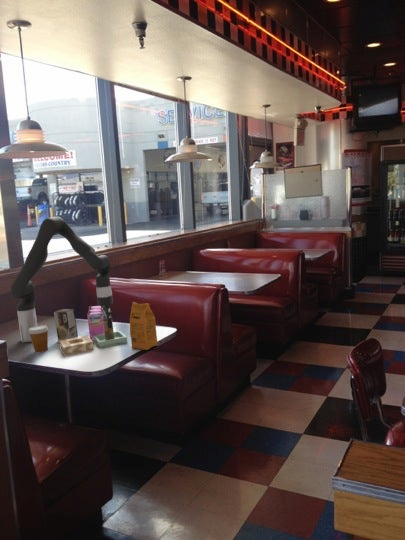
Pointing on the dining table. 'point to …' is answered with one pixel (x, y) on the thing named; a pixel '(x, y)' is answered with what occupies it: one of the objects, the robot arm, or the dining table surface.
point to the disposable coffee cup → (39, 337)
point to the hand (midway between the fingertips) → (108, 326)
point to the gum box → (95, 321)
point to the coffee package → (142, 327)
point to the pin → (108, 330)
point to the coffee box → (65, 324)
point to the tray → (118, 339)
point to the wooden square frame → (76, 345)
